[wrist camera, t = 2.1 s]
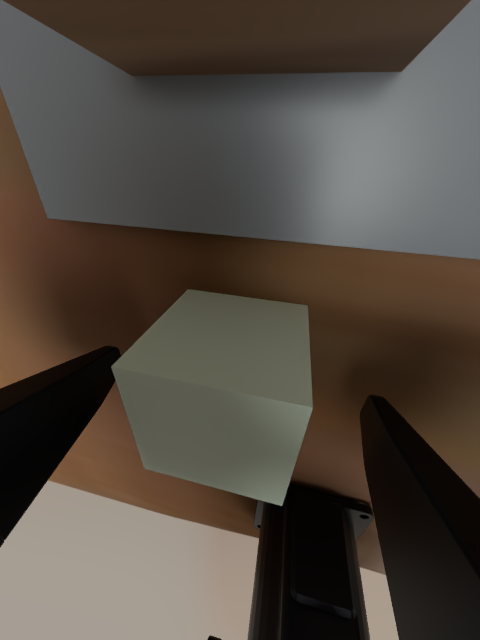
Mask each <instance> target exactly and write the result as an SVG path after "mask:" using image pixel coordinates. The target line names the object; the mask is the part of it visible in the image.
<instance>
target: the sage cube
mask: <svg viewBox="0 0 480 640" xmlns="http://www.w3.org/2000/svg"><path fill="white" fill-rule="evenodd" d="M111 368H112V371H113V374H114V377H115V380H116V383H117V386H118V389H119V392H120V395H121V398H122V402H123V405H124V408H125V411H126V414H127V417H128V420H129V423H130V426H131V429H132V432H133V435H134V438H135V441H136V444H137V447H138V450H139V453H140V457H141V460H142V463H143V466H144V469H147V470H151V471H155V472H158V473H162V474H166V475H169V476H173V477H177V478H180V479H184V480H188V481H191V482H195V483H199V484H202V485H206V486H210V487H213V488H217V489H221V490H224V491H228V492H232V493H236V494H239V495H243V496H247V497H250V498H254V499H258V500H261V501H265V502H269V503H272V504H276V505H280V506H282V505H283V502H284V498H285V495H286V492H287V489H288V486H289V483H290V479H291V476H292V473H293V470H294V467H295V463H296V460H297V457H298V454H299V451H300V447H301V444H302V441H303V438H304V435H305V431H306V428H307V425H308V422H309V419H310V415H311V412H312V409H313V399H312V379H311V359H310V339H309V320H308V305H301V304H293V303H286V302H279V301H271V300H264V299H257V298H249V297H242V296H234V295H227V294H220V293H212V292H205V291H198V290H190V289H187V290H186V292H185V293H184V294H183V295H182V296H181V297H180V298H179V299H178V300H177V301H176V302H175V303H174V304H173V305H172V306H171V307H170V308H169V309H168V310H167V311H166V312H165V313H164V314H163V315H162V316H161V317H160V318H159V319H158V320H157V321H156V322H155V323H154V324H153V325H152V326H151V327H150V328H149V329H148V330H147V331H146V332H145V333H144V334H143V335H142V336H141V337H140V338H139V339H138V340H137V341H136V342H135V343H134V344H133V345H132V346H131V347H130V348H129V349H128V350H127V351H126V352H125V353H124V354H123V355H122V356H121V357H120V358H119V359H118V360H117V361H116V362H115V363H114V364H113V365H112V366H111Z"/></svg>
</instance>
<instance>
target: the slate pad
mask: <svg viewBox="0 0 480 640" xmlns="http://www.w3.org/2000/svg"><path fill="white" fill-rule="evenodd" d="M0 87H1V90H2V92H3V95H4V98H5V101H6V103H7V106H8V109H9V112H10V115H11V117H12V120H13V123H14V126H15V129H16V131H17V134H18V137H19V140H20V143H21V145H22V148H23V151H24V154H25V157H26V159H27V162H28V165H29V168H30V171H31V173H32V176H33V179H34V182H35V185H36V187H37V190H38V193H39V196H40V199H41V201H42V204H43V207H44V210H45V213H46V215H47V218H50V219H60V220H71V221H81V222H92V223H102V224H113V225H123V226H134V227H144V228H155V229H165V230H176V231H186V232H197V233H207V234H218V235H228V236H239V237H249V238H260V239H270V240H281V241H291V242H302V243H312V244H323V245H333V246H344V247H354V248H365V249H375V250H386V251H396V252H407V253H417V254H428V255H438V256H449V257H459V258H470V259H480V0H471V1H470V2H469V3H468V4H467V5H466V6H465V7H464V8H463V9H462V10H461V11H460V12H459V13H458V14H457V15H456V17H455V18H454V19H453V20H452V21H451V22H450V23H449V24H448V25H447V26H446V27H445V28H444V29H443V30H442V31H441V32H440V33H439V34H438V35H437V36H436V37H435V38H434V39H433V40H432V41H431V42H430V43H429V44H428V45H427V46H426V47H425V48H424V49H423V50H422V51H421V52H420V53H419V54H418V55H417V56H416V58H415V59H414V60H413V61H412V62H411V63H410V64H409V65H408V66H407V67H406V68H405V69H404V70H403V71H402V72H347V73H286V74H225V75H164V76H131V75H130V74H128V73H126V72H124V71H123V70H121V69H119V68H118V67H116V66H114V65H112V64H111V63H109V62H107V61H106V60H104V59H102V58H100V57H99V56H97V55H95V54H94V53H92V52H90V51H88V50H87V49H85V48H83V47H82V46H80V45H78V44H77V43H75V42H73V41H71V40H70V39H68V38H66V37H65V36H63V35H61V34H59V33H58V32H56V31H54V30H53V29H51V28H49V27H47V26H46V25H44V24H42V23H41V22H39V21H37V20H35V19H34V18H32V17H30V16H29V15H27V14H25V13H23V12H22V11H20V10H18V9H17V8H15V7H13V6H11V5H10V4H8V3H6V2H5V1H3V0H0Z"/></svg>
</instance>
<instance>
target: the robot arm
mask: <svg viewBox="0 0 480 640" xmlns="http://www.w3.org/2000/svg"><path fill="white" fill-rule="evenodd" d="M120 357H121V354H120V351H119V349H118V348H117V347H113V346H104V347H102V348H99V349H97V350H94V351H92V352H90V353H87V354H85V355H82V356H80V357H77V358H75V359H72V360H70V361H67V362H65V363H62V364H60V365H57V366H55V367H53V368H50V369H48V370H45V371H43V372H40V373H38V374H35V375H33V376H30V377H28V378H25V379H23V380H20V381H18V382H16V383H13V384H11V385H8V386H6V387H3V388H1V389H0V547H1V545H2V544H3V543H4V540H5V539H6V538H7V537H8V535H9V534H10V533H11V531H12V530H13V528H14V527H15V526H16V524H17V523H18V521H19V520H20V518H21V517H22V516H23V514H24V513H25V511H26V510H27V509H28V507H29V506H30V504H31V503H32V502H33V500H34V499H35V497H36V496H37V495H38V493H39V492H40V490H41V489H42V488H43V486H44V484H45V483H46V482H47V481H48V479H49V478H50V476H51V475H52V474H53V472H54V471H55V469H56V468H57V467H58V465H59V464H60V462H61V461H62V460H63V458H64V457H65V455H66V454H67V452H68V451H69V450H70V448H71V447H72V445H73V444H74V443H75V441H76V440H77V438H78V437H79V436H80V434H81V433H82V431H83V430H84V429H85V427H86V426H87V424H88V423H89V422H90V420H91V419H92V417H93V416H94V415H95V413H96V412H97V410H98V409H99V407H100V406H101V404H102V403H103V401H104V400H105V398H106V396H107V394H108V393H109V391H110V389H111V388H112V386H113V384H114V382H115V381H116V380H115V377H114V374H113V371H112V368H111V366H112V365H113V364H114V363H115V362H116V361H117V360H118V359H119V358H120ZM360 424H361V436H362V447H363V458H364V466H365V472H366V477H367V482H368V487H369V492H370V497H371V502H372V507H373V511H372V508H371V507H369V506H367V505H363V504H360V503H356V502H352V501H348V500H344V499H340V498H336V497H332V496H329V495H325V494H321V493H317V492H313V491H309V490H305V489H301V488H297V487H294V486H290V485H289V486H288V489H287V492H286V495H285V498H284V502H283V505H282V506H280V505H276V504H272V503H269V502H265V501H261V500H258V502H257V507H256V513H255V518H254V527H256V528H257V529H260V536H259V545H258V554H257V563H256V571H255V581H254V588H253V597H252V606H251V614H250V623H249V632H248V640H370V635H369V628H368V622H367V615H366V609H365V601H364V595H363V589H362V581H361V575H360V568H359V561H358V554H357V548H356V540H357V539H358V537H359V536H360V535H361V534H362V533H363V531H364V530H365V529H366V528H367V527H368V525H369V524H370V523H371V522H372V521H373V519H374V517H375V522H376V527H377V532H378V537H379V542H380V547H381V552H382V557H383V562H384V567H385V572H386V576H387V581H388V586H389V591H390V596H391V601H392V606H393V611H394V616H395V621H396V626H397V631H398V636H399V640H480V498H479V497H478V496H477V495H476V494H475V493H474V492H473V491H472V490H471V489H470V488H469V487H468V486H467V485H466V484H465V483H464V481H463V480H462V479H461V478H460V477H459V476H458V475H457V474H456V473H455V472H454V471H453V470H452V469H451V468H450V467H449V466H448V465H447V463H446V462H445V461H444V460H443V459H442V458H441V457H440V456H439V455H438V454H437V453H436V452H435V451H434V450H433V449H432V448H431V447H430V446H429V444H428V443H427V442H426V441H425V440H424V439H423V438H422V437H421V436H420V435H419V434H418V433H417V432H416V431H415V430H414V429H413V428H412V426H411V425H410V424H409V423H408V422H407V421H406V420H405V419H404V418H403V417H402V416H401V415H400V414H399V413H398V412H397V411H396V410H395V409H394V407H393V406H392V405H391V404H390V403H389V402H388V401H387V400H386V399H385V398H384V397H381V396H376V395H369V396H368V397H367V399H366V401H365V403H364V405H363V407H362V409H361V412H360ZM373 512H374V516H373ZM208 640H221V639H220V638H217V637H214V636H209V638H208Z"/></svg>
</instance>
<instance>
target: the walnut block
mask: <svg viewBox="0 0 480 640" xmlns="http://www.w3.org/2000/svg"><path fill="white" fill-rule="evenodd" d="M3 1H5V2H6V3H8V4H10V5H11V6H13V7H15V8H17V9H18V10H20V11H22V12H23V13H25V14H27V15H29V16H30V17H32V18H34V19H35V20H37V21H39V22H41V23H42V24H44V25H46V26H47V27H49V28H51V29H53V30H54V31H56V32H58V33H59V34H61V35H63V36H65V37H66V38H68V39H70V40H71V41H73V42H75V43H77V44H78V45H80V46H82V47H83V48H85V49H87V50H88V51H90V52H92V53H94V54H95V55H97V56H99V57H100V58H102V59H104V60H106V61H107V62H109V63H111V64H112V65H114V66H116V67H118V68H119V69H121V70H123V71H124V72H126V73H128V74H130V75H131V76H164V75H225V74H286V73H347V72H402V71H403V70H404V69H405V68H406V67H407V66H408V65H409V64H410V63H411V62H412V61H413V60H414V59H415V58H416V56H417V55H418V54H419V53H420V52H421V51H422V50H423V49H424V48H425V47H426V46H427V45H428V44H429V43H430V42H431V41H432V40H433V39H434V38H435V37H436V36H437V35H438V34H439V33H440V32H441V31H442V30H443V29H444V28H445V27H446V26H447V25H448V24H449V23H450V22H451V21H452V20H453V19H454V18H455V17H456V15H457V14H458V13H459V12H460V11H461V10H462V9H463V8H464V7H465V6H466V5H467V4H468V3H469V2H470V1H471V0H3Z"/></svg>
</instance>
